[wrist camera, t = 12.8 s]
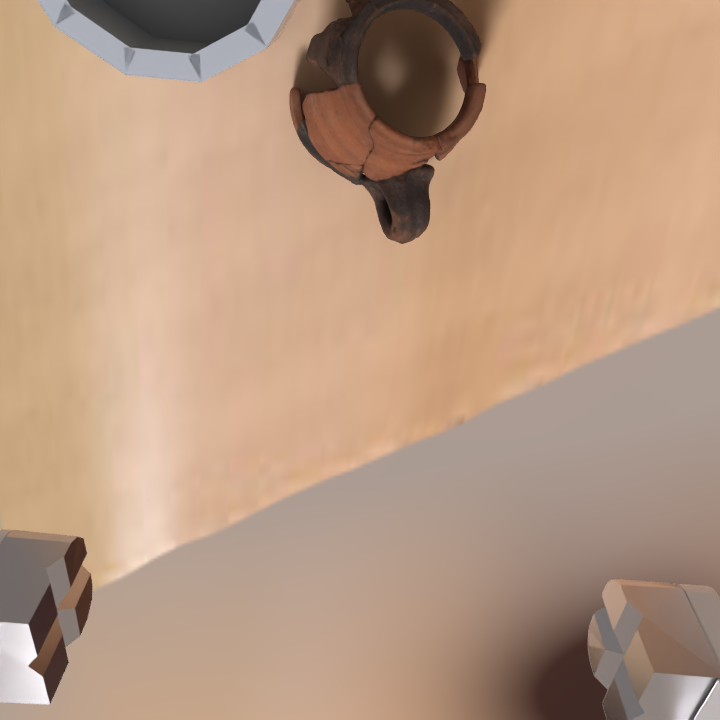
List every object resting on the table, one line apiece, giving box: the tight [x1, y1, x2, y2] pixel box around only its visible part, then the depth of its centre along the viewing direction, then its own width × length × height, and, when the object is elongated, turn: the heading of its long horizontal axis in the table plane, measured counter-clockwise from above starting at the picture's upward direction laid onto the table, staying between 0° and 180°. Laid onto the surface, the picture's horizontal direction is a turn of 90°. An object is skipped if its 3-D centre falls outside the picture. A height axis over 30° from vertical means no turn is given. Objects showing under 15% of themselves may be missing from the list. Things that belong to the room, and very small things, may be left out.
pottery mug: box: [290, 0, 486, 244], centre depth 35 cm, size 12×10×8 cm
